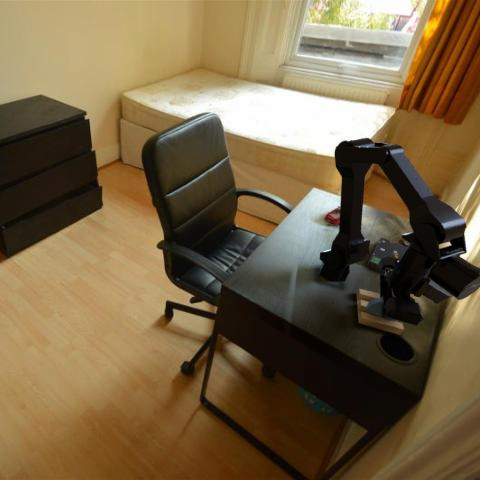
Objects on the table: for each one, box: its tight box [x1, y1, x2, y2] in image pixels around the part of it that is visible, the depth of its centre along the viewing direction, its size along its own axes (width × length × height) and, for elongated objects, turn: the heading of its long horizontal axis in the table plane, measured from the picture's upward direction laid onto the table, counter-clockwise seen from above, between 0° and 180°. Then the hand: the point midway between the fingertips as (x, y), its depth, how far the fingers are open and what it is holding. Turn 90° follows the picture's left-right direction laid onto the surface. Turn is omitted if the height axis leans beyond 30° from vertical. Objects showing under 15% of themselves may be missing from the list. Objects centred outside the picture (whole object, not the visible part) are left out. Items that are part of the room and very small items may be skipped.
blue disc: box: [367, 298, 396, 321], centre depth 81 cm, size 7×2×7 cm, turn 68°
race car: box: [324, 205, 340, 226], centre depth 117 cm, size 13×5×4 cm, turn 122°
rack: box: [356, 288, 405, 336], centre depth 84 cm, size 9×10×3 cm
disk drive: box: [366, 237, 407, 273], centre depth 100 cm, size 10×3×15 cm
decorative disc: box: [401, 238, 410, 247], centre depth 107 cm, size 6×6×1 cm
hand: (383, 311), depth 81 cm, fingers open, 3 cm apart
